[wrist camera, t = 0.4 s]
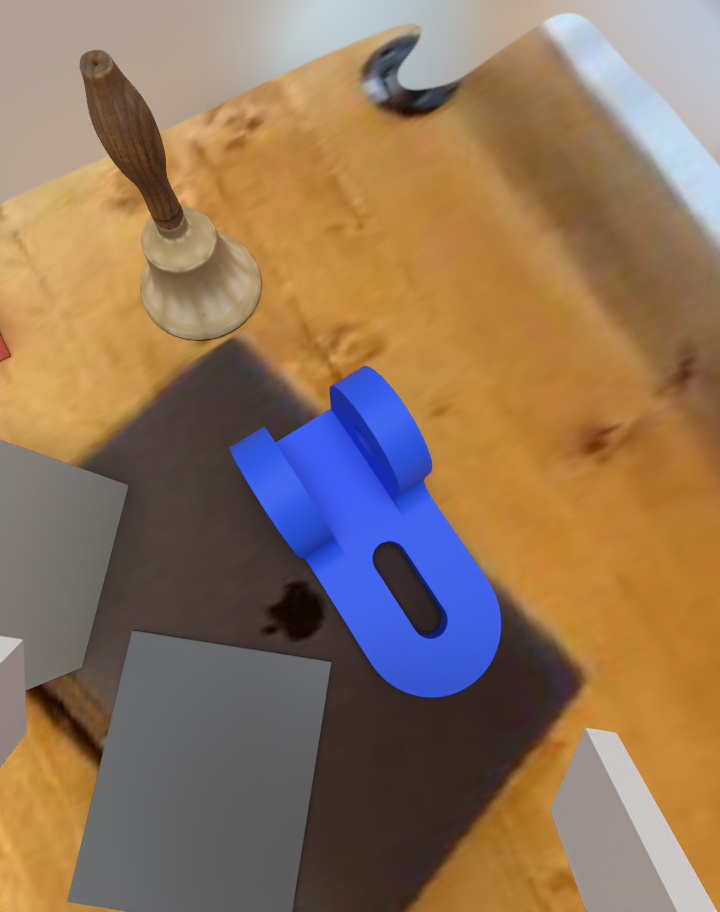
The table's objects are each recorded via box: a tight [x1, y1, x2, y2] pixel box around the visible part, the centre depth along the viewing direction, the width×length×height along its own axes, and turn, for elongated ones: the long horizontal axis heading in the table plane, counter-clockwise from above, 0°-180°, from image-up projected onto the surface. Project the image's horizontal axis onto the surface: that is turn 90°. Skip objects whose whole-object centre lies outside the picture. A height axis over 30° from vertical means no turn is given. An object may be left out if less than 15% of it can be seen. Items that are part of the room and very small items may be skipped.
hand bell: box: [80, 50, 261, 340], centre depth 27 cm, size 8×8×16 cm
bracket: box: [230, 366, 501, 697], centre depth 27 cm, size 18×8×9 cm, turn 33°
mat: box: [68, 630, 331, 912], centre depth 28 cm, size 14×12×1 cm
